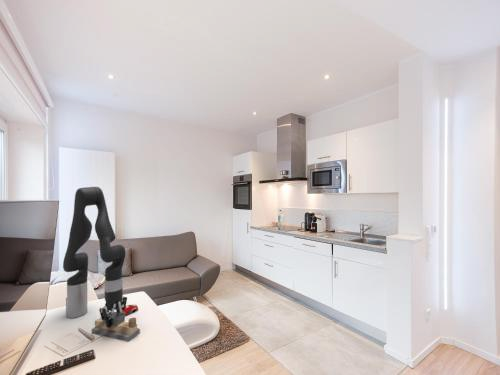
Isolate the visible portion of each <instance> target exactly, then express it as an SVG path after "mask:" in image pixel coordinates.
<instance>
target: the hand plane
mask: <svg viewBox="0 0 500 375" xmlns="http://www.w3.org/2000/svg"><path fill="white" fill-rule="evenodd" d="M91 334H94V335H97V336H102V337H106V338H111V339H115V340H119V341H123V342H130V341H131V340H133V339H134V338H135V337H136V336H138V335H139V334H141V328H139V327H138V324H137V317H131V318H129V319H128V321H124V322H122V323H121V324H119V325H117V326H112V325H111V327H110V328H108V327H106V324H103V320H102V319H101V317H99V318H98V319H95V320H94V327H93V328H91Z"/></svg>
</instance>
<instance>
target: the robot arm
mask: <svg viewBox="0 0 500 375" xmlns="http://www.w3.org/2000/svg"><path fill="white" fill-rule="evenodd" d="M89 206H96V208H97V216H96V220H95V224H94V230H95V234H96V236H97V239H98V243H99V254H100V255H99V256H100V259H101V260H102V261H103V262H104V263H111V264H110V265H109V266H107V267H106V268H105V269H104V270H105V271H104V301H105V304H104V306H103V307H100V308H99V314H100V318H101V319H102V320H106V327H108V328H110V327H111V317H112V314H113V312H120V313H122V312H123V310H125V308H126V306H127V300H128V297H126V296H123V295H124V294H123V290H124V289H123V285H124V283H123V266H124V263H125V259H126V248H125V246H124V245H122V244H115V245H113V246H112V245H111V243H113V242H114V241H115V240H116V237H117V236H116V233H115V232H114V229H113V226H112V225H111V224H112V223H111V221H110V217H109V212H108V207H107V203H106V198H105V195H104V192H103V190H102V188H101V187H99V186H87V187H80V188H78V189H76V191H75V194H74V203H73V215H72V221H71V225H70V229H69V238H68V243H67V248H66V251H65V254H64V258H63V264H62V265H63V266H62V268H63V271H64V272H66V273H72V272H76V271H77V272H76V273H75V274H73V275H71V276H70V277H68V279H67V280H66V298H65V316H66V317H67V318H68V319H75V318H76V319H77V318H79V317H82V316H84V315H86V314H87V313H88V275H89V274H88V271H89V256H88V253H86V252H78V251H79V250H80V249H81V248H82V247H83V246H84V245H85V244H86V243H87V242H88V240H89V239H90V238H91V235H92V231H93V224H92V222H91V220H90V219H89V217H87V215H86V208H87V207H89ZM108 315H109V317H108Z"/></svg>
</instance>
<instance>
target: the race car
mask: <svg viewBox="0 0 500 375" xmlns="http://www.w3.org/2000/svg"><path fill="white" fill-rule="evenodd" d="M138 310H139V306H138V305H137V304H135V303H134V304H126V308H125V310H123V312H122V313H125V317H126V316H129V315H131V314H134V313H136V312H137V311H138Z"/></svg>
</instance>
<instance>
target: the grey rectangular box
mask: <svg viewBox="0 0 500 375" xmlns="http://www.w3.org/2000/svg"><path fill="white" fill-rule="evenodd" d="M108 317H109V315H108ZM122 322H126V316H125V313H120V312H117V311H114V312H113V314H112V317H111V325H112V326H117V325H119V324H121V323H122ZM103 324H106V320H103Z"/></svg>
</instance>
